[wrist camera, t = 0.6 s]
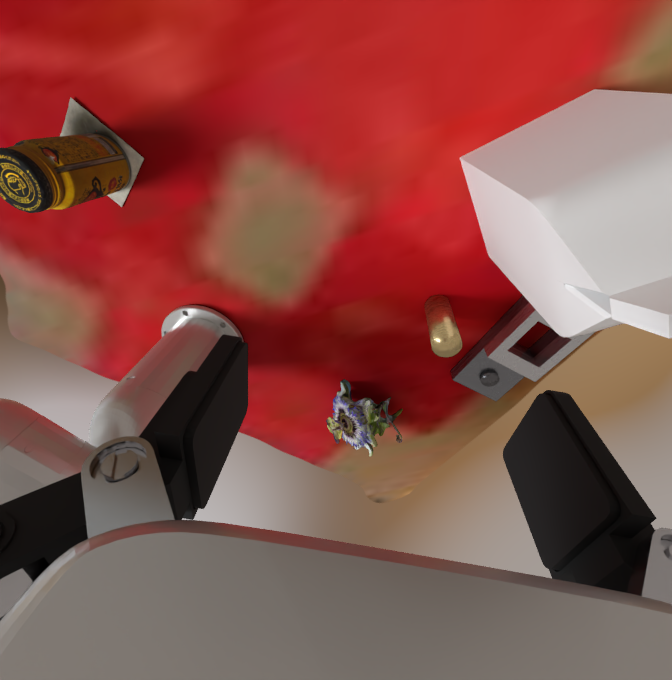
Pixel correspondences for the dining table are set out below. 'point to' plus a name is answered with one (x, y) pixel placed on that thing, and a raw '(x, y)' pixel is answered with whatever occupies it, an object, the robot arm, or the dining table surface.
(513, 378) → the grey long rectangular block
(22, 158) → the condiment
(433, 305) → the brass pin
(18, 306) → the dining table surface
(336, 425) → the passion flower
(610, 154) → the milk
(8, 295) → the dining table surface
